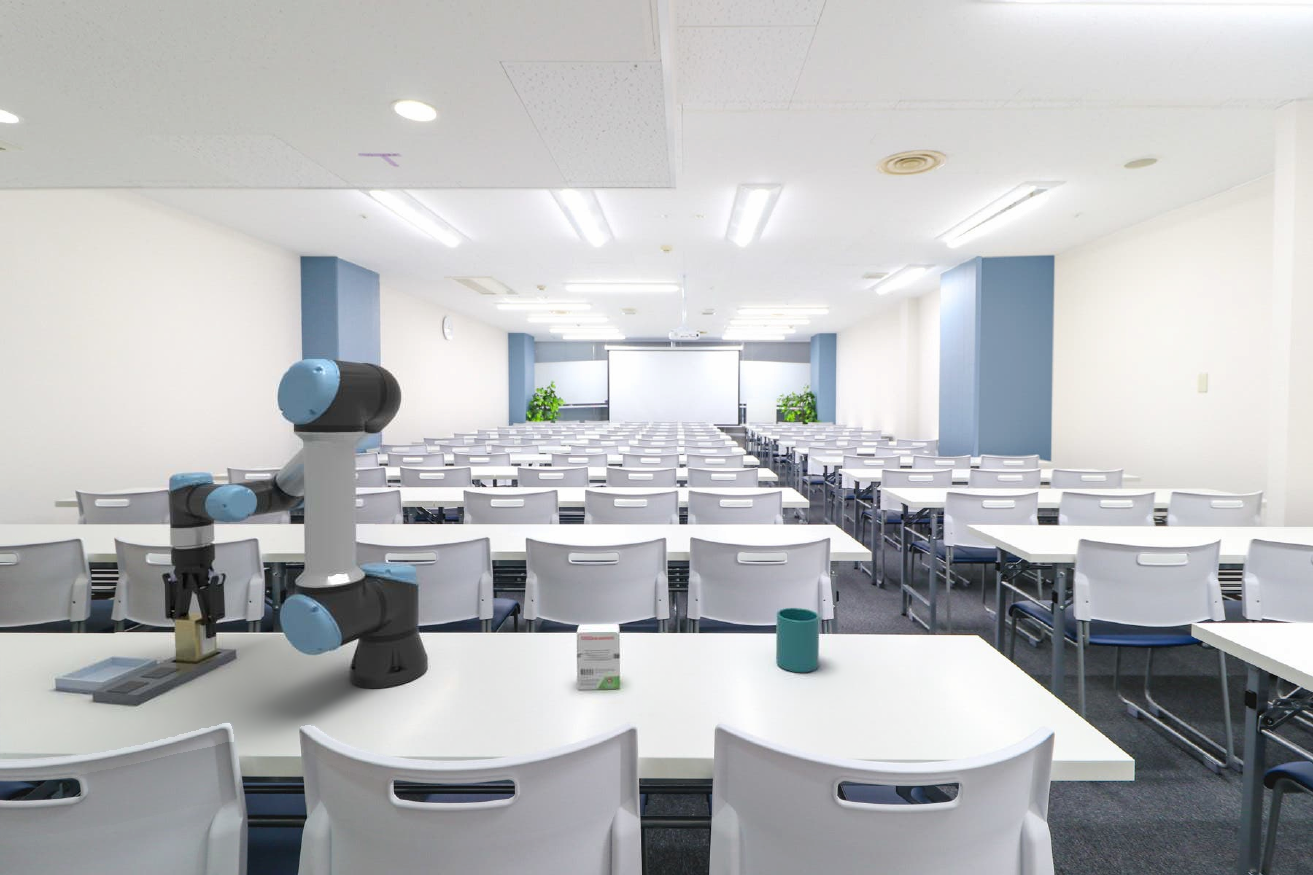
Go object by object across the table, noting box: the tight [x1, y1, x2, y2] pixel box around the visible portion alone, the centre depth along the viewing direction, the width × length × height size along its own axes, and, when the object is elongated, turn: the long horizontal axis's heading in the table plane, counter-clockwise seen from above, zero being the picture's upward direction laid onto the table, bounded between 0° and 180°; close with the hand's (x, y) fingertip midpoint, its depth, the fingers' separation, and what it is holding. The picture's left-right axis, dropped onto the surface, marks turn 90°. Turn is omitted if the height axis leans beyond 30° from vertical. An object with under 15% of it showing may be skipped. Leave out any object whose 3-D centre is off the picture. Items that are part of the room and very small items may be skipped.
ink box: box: [576, 623, 621, 691], centre depth 123 cm, size 9×5×12 cm, turn 93°
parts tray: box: [54, 655, 158, 695], centre depth 124 cm, size 11×11×2 cm
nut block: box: [174, 611, 218, 664], centre depth 131 cm, size 5×5×11 cm
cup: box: [775, 607, 820, 674], centre depth 134 cm, size 9×12×11 cm
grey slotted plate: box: [92, 647, 238, 707], centre depth 125 cm, size 10×22×2 cm, turn 171°
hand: (196, 651), depth 131 cm, fingers closed on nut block, 5 cm apart
